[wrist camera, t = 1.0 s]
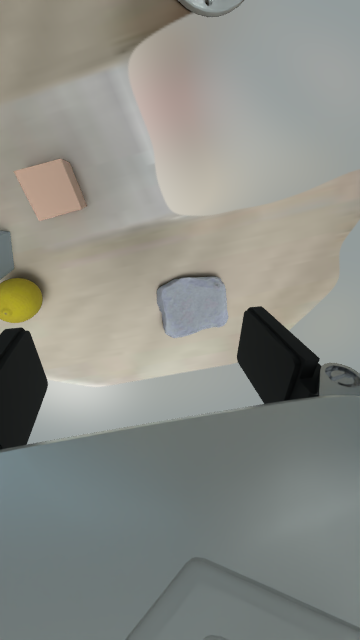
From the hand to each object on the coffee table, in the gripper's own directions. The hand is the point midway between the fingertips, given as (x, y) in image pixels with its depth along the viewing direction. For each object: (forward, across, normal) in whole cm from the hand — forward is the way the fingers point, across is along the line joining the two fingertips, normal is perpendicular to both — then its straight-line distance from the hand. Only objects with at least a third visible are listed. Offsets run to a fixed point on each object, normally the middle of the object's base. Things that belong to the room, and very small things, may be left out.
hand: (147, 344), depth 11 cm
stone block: (+28, -9, +12) cm, 32 cm away
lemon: (+28, +16, +8) cm, 33 cm away
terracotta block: (+28, +8, -5) cm, 30 cm away
